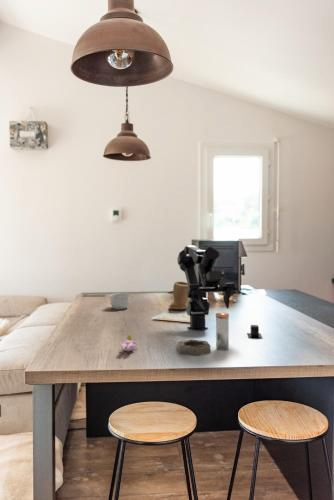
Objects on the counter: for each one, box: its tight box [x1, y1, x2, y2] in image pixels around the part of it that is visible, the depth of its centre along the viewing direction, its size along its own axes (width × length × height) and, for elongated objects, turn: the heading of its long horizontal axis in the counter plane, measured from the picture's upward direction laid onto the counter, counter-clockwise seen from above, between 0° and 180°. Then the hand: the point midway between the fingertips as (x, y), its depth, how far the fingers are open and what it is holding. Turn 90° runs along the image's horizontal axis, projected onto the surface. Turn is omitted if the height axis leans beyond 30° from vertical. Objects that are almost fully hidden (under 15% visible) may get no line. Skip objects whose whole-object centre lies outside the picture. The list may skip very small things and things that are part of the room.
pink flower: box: [120, 333, 140, 352], centre depth 152 cm, size 6×6×15 cm
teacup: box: [109, 292, 131, 311], centre depth 240 cm, size 14×11×8 cm
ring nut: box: [177, 339, 211, 356], centre depth 151 cm, size 11×12×2 cm
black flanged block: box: [246, 324, 264, 340], centre depth 173 cm, size 12×7×5 cm, turn 173°
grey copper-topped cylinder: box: [215, 312, 230, 351], centre depth 154 cm, size 5×5×12 cm
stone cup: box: [168, 280, 189, 310], centre depth 238 cm, size 15×12×15 cm
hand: (216, 308), depth 161 cm, fingers open, 9 cm apart
